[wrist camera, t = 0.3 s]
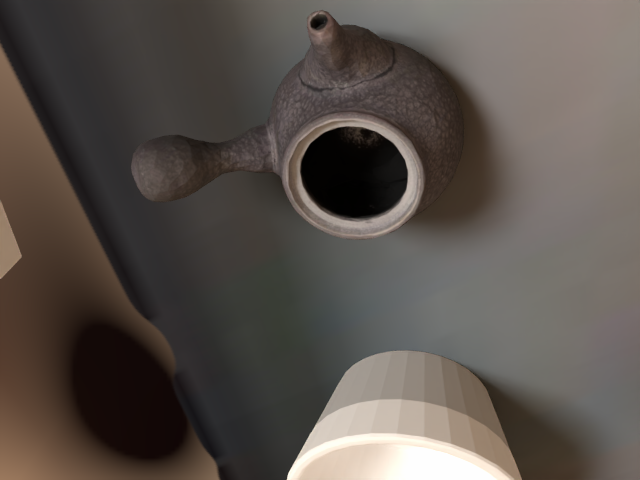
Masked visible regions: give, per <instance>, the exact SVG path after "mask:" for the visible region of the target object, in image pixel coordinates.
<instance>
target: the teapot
mask: <svg viewBox="0 0 640 480" xmlns="http://www.w3.org/2000/svg"><path fill="white" fill-rule="evenodd" d="M307 28H308V34H309V38H310V41H311V46H310V48H309V50H308V52H307V53H306V55H305V58H304V59H303V60H301V61H300V62H299V63H298V64H297V65H295V66H294V67H293V68H292V69H291V70H290V72H289V73H288V74H287V75H286V76H285V78H284V79H283V81H282V82H281V84H280V86H279V87H278V89H277V92H276V94H275V97H274V99H273V103H272V108H271V113H270V117H269V119H268V120H267V122H266V124H264V125H260V126H256V127H254V128H251V129H249V130H248V131H246V132H245V133H243V134H242V135H240V136H238V137H236V138H234V139H233V140H229V141H225V142H221V143H209V142H205V141H199V140H194V139H191V138H187V137H184V136H181V135H168V136H162V137H159V138H155V139H152V140H148V141H145V142H144V143H142V144H141V145H139V146H138V148H137V149H136V151H135V152H134V154H133V159H132V164H131V170H132V174H133V177H134V179H135V182H136V184H137V187H138V188H139V190H140V191H141V193H142V194H143V195H144V196H145V197H146V198H147V199H149V200H151V201H154V202H167V201H173V200H177V199H181V198H184V197H187V196H189V195H190V194H192V193H194V192H196V191H198V190H199V189H200V188H202V187H203V186H205V185H206V184H208V183H209V182H211V181H212V180H214V179H215V178H217V177H218V176H220V175H221V174H224V173H228V172H233V171H240V170H243V171H249V172H257V173H266V172H274V173H276V174H277V175H279V176H280V178H281V179H282V183H283V187H284V190H285V192H286V195H287V197H288V199H289V201H290V202H291V204H292V206H293V207H294V209H295V210H296V212H297V213H298V214H299V215H300V216H301V217H302V218H303V219H305V220H306V221H307V222H309V223H310V224H311V225H312V226H314V227H316V228H318V229H320V230H322V231H324V232H325V233H328V234H330V235H333V236H337V237H341V238H345V239H372V238H375V237H379V236H382V235H385V234H388V233H391V232H393V231H395V230H397V229H398V228H400V227H401V226H402V225H404V224H405V223H406V222H407V221H408V220H409V219H410V218H412V217H413V216H415V215H417V214H418V213H420V212H422V211H423V210H424V209H426V208H427V207H428V206H429V205H431V204H432V203H433V202H434V201H435V200H436V199H437V198H438V197H439V196H440V195H441V193H442V192H443V191H444V190H445V188H446V187H447V185H448V184H449V182H450V181H451V179H452V178H453V175H454V173H455V170H456V168H457V165H458V163H459V161H460V158H461V153H462V148H463V138H464V124H463V118H462V113H461V109H460V106H459V103H458V99H457V96H456V95H455V93H454V91H453V90H452V88H451V86H450V85H449V83H448V81H447V80H446V78H445V77H444V76H443V74H442V73H441V72H440V70H438V69H437V68H436V67H435V66H434V65H433V64H432V63H431V62H430V61H429V60H427V59H426V58H425V57H424V56H422V55H421V54H419V53H418V52H416V51H414V50H413V49H411V48H409V47H406V46H404V45H402V44H398V43H395V42H391V41H387V40H384V39H380V38H379V37H378V36H377V35H375V34H374V33H373V32H371V31H370V30H368V29H365V28H362V27H359V26H356V25H341V26H340V25H339V24H338V23H337V22H336V20H335V19H334V18H333V17H332V16H331V15H330V14H329V13H328V12H326V11H323V10H320V11H316V12H313V13H312V14H311V15H310V16H309V17H308V19H307Z"/></svg>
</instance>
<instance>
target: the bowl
mask: <svg viewBox="0 0 640 480" xmlns="http://www.w3.org/2000/svg"><path fill="white" fill-rule="evenodd" d="M287 480H522V478H521V476H520V473H519V470H518V468H517V465H516V463H515V460H514V458H513V456H512V454H511V451H510V448H509V446H508V443H507V441H506V438H505V435H504V433H503V430H502V428H501V425H500V422H499V420H498V417H497V415H496V412H495V409H494V407H493V404H492V402H491V399H490V397H489V394H488V392H487V390H486V388H485V386H484V385H483V384H482V382H481V381H480V380H479V379H478V378H477V377H476V376H475V375H474V374H473V373H472V372H470V371H469V370H468V369H466V368H465V367H463V366H461V365H460V364H458V363H456V362H454V361H452V360H449V359H447V358H444V357H442V356H439V355H434V354H430V353H426V352H419V351H409V350H406V351H389V352H384V353H379V354H375V355H373V356H370V357H367V358H364V359H363V360H361V361H359V362H357V363H356V364H354V365H353V366H352V367H351V368H350V369H349V370H348V371H347V372H345V374H344V376H343V377H342V379H341V381H340V382H339V384H338V386H337V388H336V389H335V391H334V393H333V395H332V397H331V398H330V400H329V402H328V404H327V406H326V407H325V409H324V411H323V413H322V415H321V416H320V418H319V420H318V422H317V424H316V425H315V427H314V429H313V431H312V432H311V434H310V435H309V437H308V439H307V441H306V443H305V444H304V446H303V448H302V450H301V452H300V453H299V455H298V457H297V459H296V461H295V462H294V464H293V466H292V468H291V470H290V471H289V473H288V478H287Z"/></svg>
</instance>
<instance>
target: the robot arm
mask: <svg viewBox="0 0 640 480" xmlns="http://www.w3.org/2000/svg"><path fill="white" fill-rule="evenodd" d="M21 257H22V256H21V253H20V250H19V248H18V245H17V243H16V240H15V237H14V235H13V232H12V229H11V227H10V224H9V221H8V219H7V217H6V214H5V211H4V208H3V206H2V203H1V201H0V279H1V278H2V277H3V276H4V275H5V274H6V273H7V272H8V271H9V270H10V268H12V266H13V265H14V264H15V263H16V262H17V261H18V260H19V259H20V258H21Z"/></svg>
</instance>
